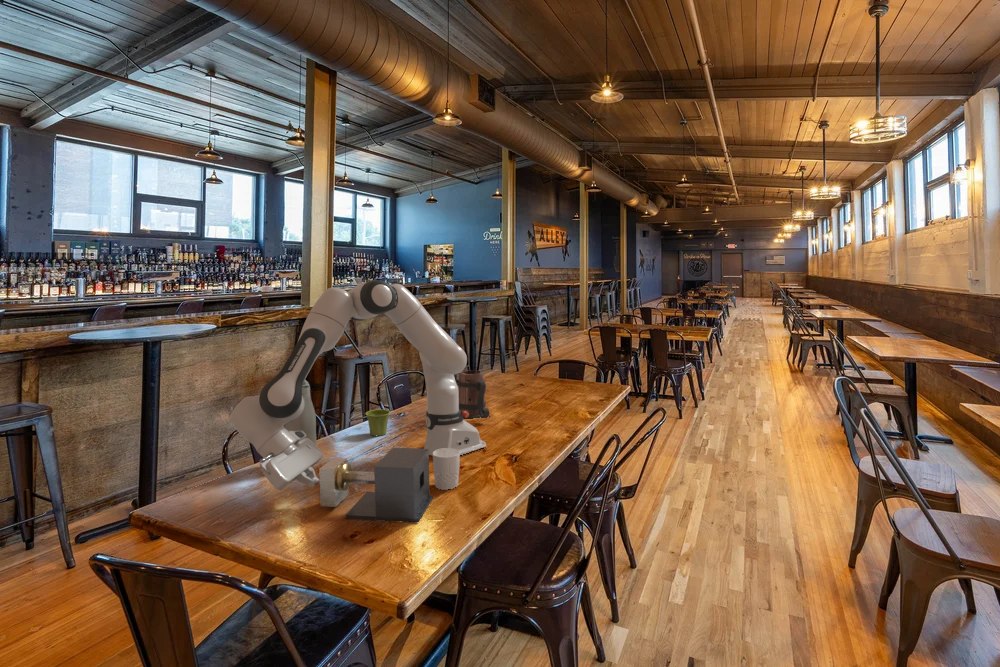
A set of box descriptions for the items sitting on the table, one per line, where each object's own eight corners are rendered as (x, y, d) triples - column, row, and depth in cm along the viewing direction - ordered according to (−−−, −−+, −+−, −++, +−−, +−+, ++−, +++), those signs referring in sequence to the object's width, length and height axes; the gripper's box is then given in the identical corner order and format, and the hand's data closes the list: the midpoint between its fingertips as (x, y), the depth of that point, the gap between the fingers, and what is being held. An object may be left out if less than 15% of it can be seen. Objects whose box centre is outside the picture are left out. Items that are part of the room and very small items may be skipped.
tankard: (446, 414, 222) (445, 370, 220) (479, 409, 230) (479, 367, 228) (468, 427, 202) (468, 379, 200) (504, 421, 210) (504, 375, 208)
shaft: (320, 506, 128) (319, 468, 127) (334, 493, 136) (333, 457, 135) (402, 510, 125) (401, 472, 124) (412, 496, 133) (411, 461, 132)
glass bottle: (298, 470, 156) (294, 383, 153) (277, 464, 161) (273, 380, 158) (323, 460, 165) (320, 378, 162) (302, 455, 170) (299, 375, 167)
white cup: (433, 480, 148) (433, 448, 147) (460, 479, 148) (459, 447, 147) (432, 491, 140) (431, 457, 139) (460, 490, 141) (459, 456, 140)
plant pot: (394, 431, 197) (394, 410, 196) (384, 438, 188) (383, 416, 187) (373, 429, 199) (372, 408, 198) (361, 436, 190) (360, 414, 189)
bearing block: (345, 518, 124) (343, 465, 123) (366, 495, 138) (365, 446, 136) (418, 522, 122) (417, 468, 120) (433, 498, 136) (432, 449, 134)
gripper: (263, 453, 121) (303, 493, 121) (306, 429, 142) (339, 463, 141) (248, 470, 122) (286, 510, 122) (292, 443, 143) (325, 477, 142)
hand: (315, 484), depth 132 cm, fingers closed
